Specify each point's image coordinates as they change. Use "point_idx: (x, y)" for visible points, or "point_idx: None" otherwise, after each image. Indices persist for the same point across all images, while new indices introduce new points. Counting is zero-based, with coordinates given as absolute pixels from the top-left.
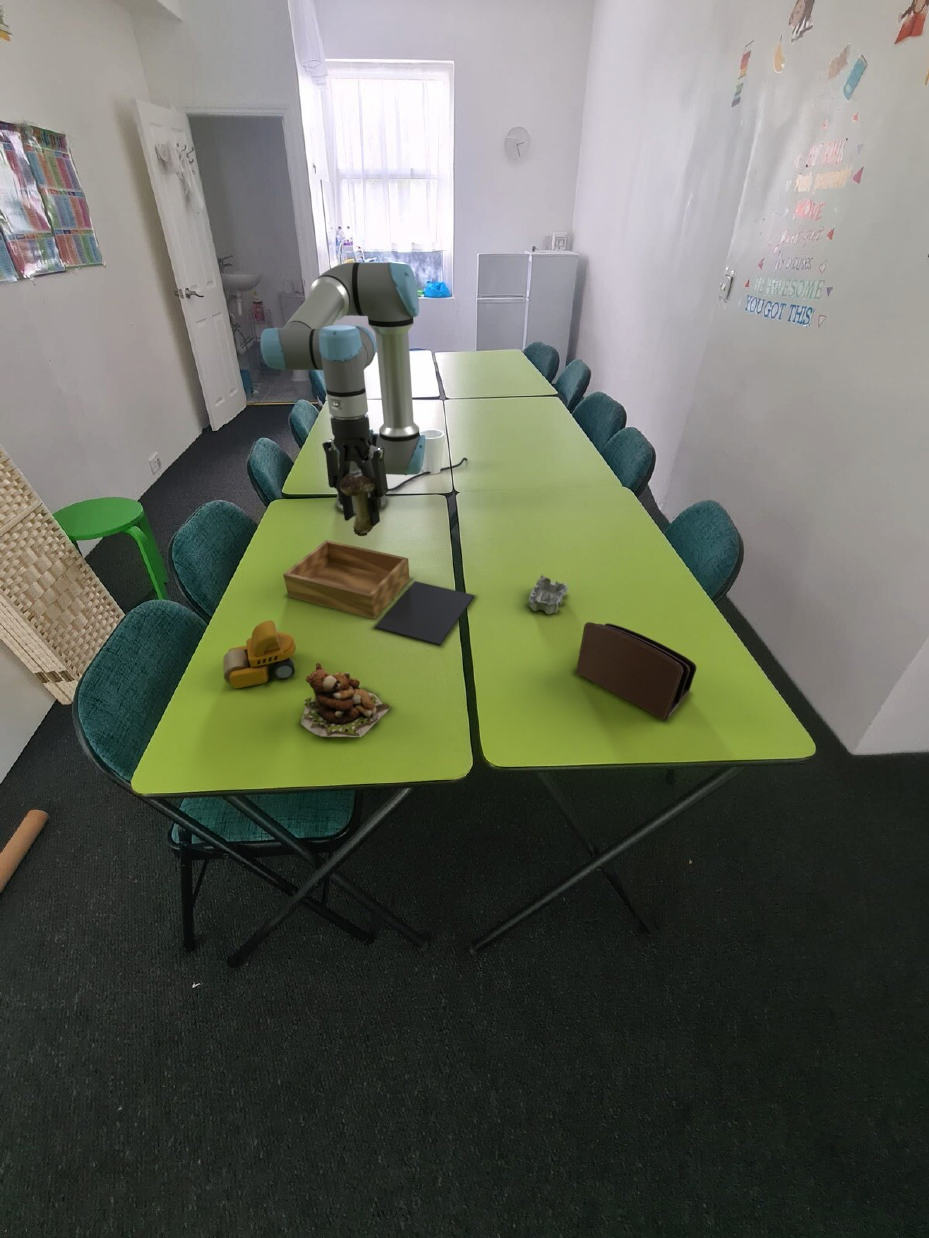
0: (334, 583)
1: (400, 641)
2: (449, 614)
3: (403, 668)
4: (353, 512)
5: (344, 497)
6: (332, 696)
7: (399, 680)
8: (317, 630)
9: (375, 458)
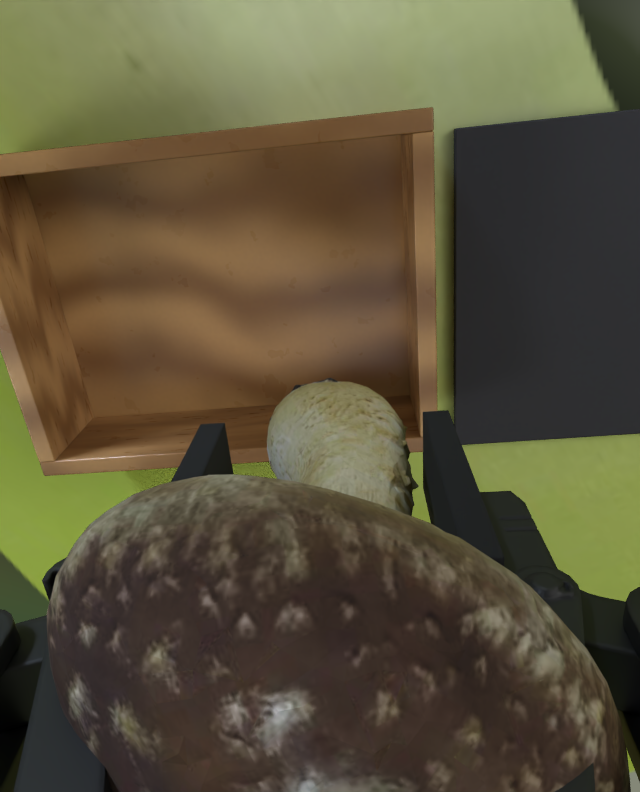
0: (163, 302)
1: (559, 456)
2: None
3: (615, 538)
4: (219, 439)
5: None
6: None
7: (622, 574)
8: None
9: None
